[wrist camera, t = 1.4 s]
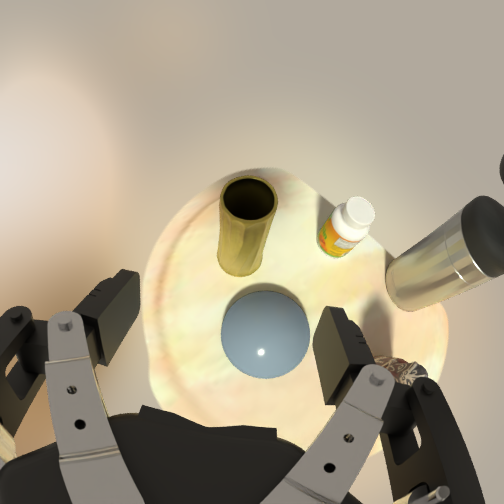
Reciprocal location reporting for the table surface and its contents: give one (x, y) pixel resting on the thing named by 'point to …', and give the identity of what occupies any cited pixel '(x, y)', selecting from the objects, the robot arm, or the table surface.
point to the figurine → (401, 369)
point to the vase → (244, 223)
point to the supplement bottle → (346, 227)
